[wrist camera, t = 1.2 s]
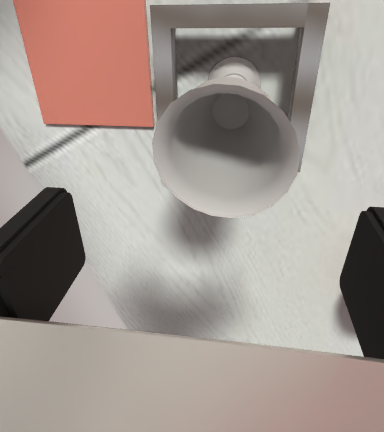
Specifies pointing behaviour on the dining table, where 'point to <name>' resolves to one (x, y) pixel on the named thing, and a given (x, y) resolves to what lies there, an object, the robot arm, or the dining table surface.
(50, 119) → the coaster
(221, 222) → the dining table surface
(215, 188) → the chalice
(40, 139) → the dining table surface
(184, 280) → the dining table surface
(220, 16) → the ring stand
